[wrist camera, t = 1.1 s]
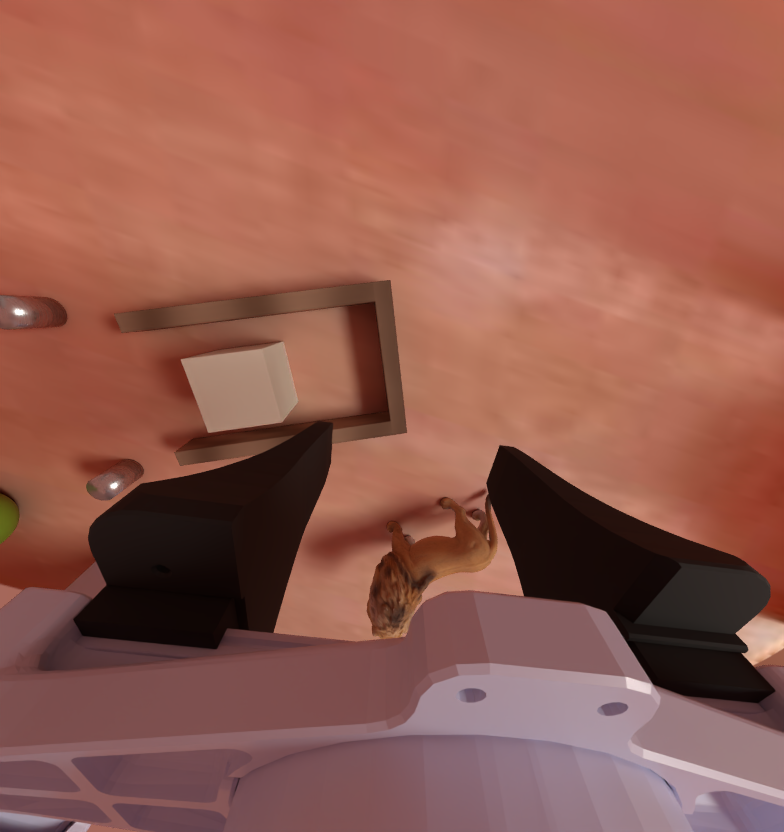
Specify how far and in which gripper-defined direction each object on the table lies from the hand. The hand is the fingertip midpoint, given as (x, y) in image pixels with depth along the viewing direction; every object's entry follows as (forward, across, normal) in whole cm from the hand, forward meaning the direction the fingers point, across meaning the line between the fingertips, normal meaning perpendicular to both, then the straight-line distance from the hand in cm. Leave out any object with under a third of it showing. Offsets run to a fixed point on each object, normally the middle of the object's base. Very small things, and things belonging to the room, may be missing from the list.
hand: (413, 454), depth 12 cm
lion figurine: (+12, -5, +16) cm, 21 cm away
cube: (+12, +12, +2) cm, 17 cm away
